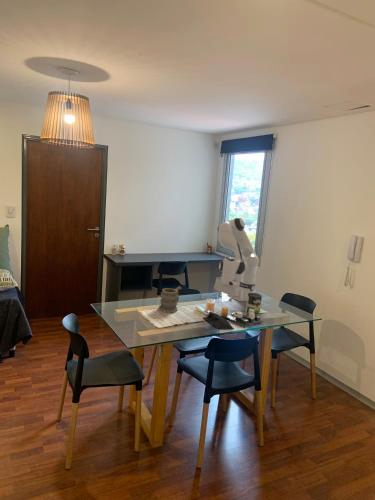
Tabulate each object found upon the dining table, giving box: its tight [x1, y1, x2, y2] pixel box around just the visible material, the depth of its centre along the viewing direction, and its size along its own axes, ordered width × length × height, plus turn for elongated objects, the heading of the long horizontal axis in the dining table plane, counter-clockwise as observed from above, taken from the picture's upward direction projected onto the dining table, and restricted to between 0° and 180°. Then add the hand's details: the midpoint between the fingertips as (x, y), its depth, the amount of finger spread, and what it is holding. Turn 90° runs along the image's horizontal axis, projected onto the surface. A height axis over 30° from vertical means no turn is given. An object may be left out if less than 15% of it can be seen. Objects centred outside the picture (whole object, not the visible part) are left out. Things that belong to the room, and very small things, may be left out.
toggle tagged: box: [249, 312, 255, 319], centre depth 246 cm, size 3×2×3 cm
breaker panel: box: [224, 311, 263, 328], centre depth 251 cm, size 17×20×4 cm
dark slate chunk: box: [203, 311, 235, 330], centre depth 242 cm, size 15×22×5 cm
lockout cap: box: [220, 306, 229, 317], centre depth 255 cm, size 4×4×6 cm
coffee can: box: [245, 292, 263, 316], centre depth 268 cm, size 10×10×14 cm
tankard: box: [158, 285, 182, 314], centre depth 260 cm, size 20×13×15 cm, turn 143°
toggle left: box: [236, 311, 243, 318], centre depth 245 cm, size 3×2×3 cm
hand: (225, 299), depth 254 cm, fingers open, 8 cm apart
